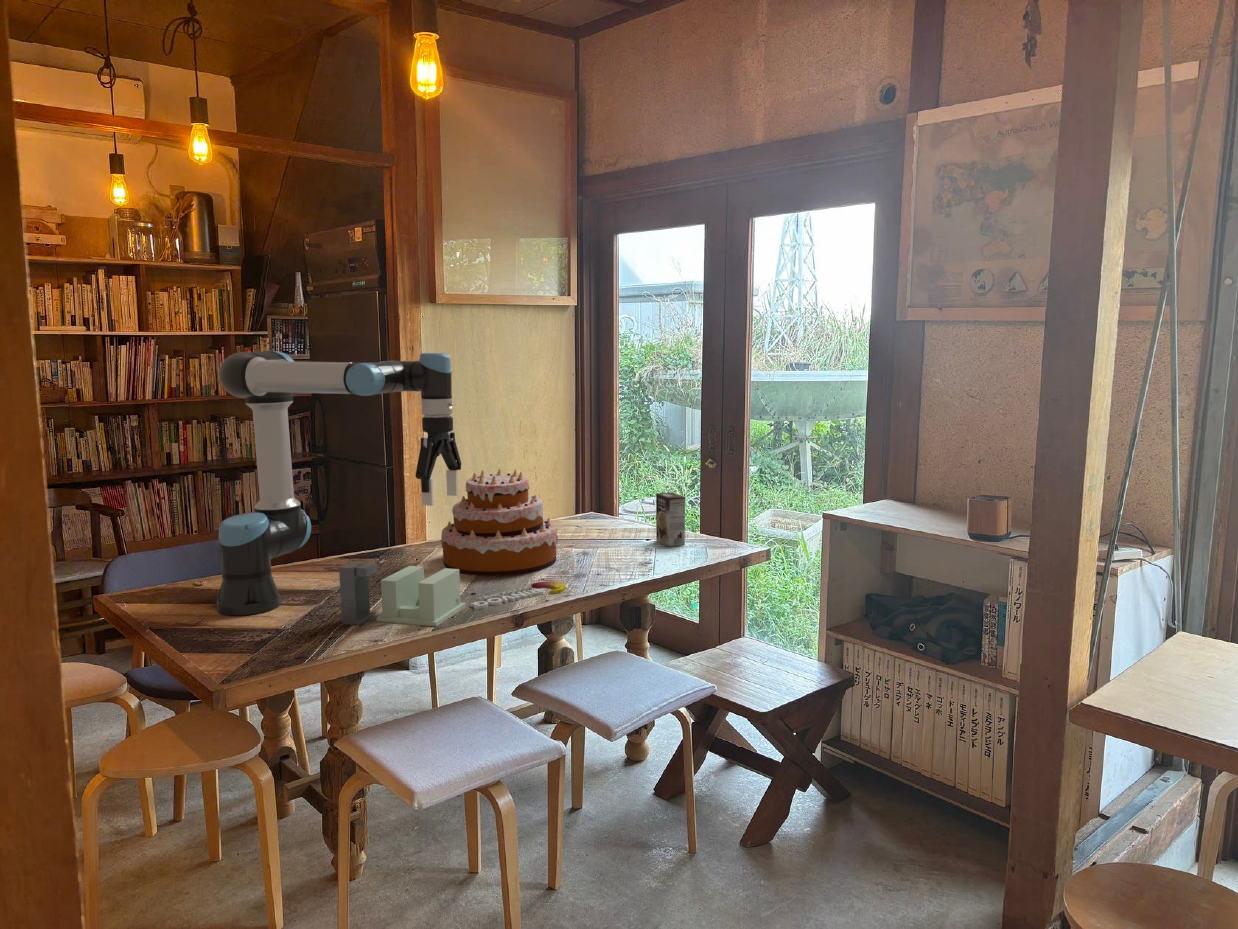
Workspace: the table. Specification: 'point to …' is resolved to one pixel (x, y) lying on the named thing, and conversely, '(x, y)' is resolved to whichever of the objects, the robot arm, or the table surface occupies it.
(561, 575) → the table surface
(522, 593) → the logo
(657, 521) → the instant coffee box
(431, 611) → the green slotted holder
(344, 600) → the stepped grey block
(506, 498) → the cake
